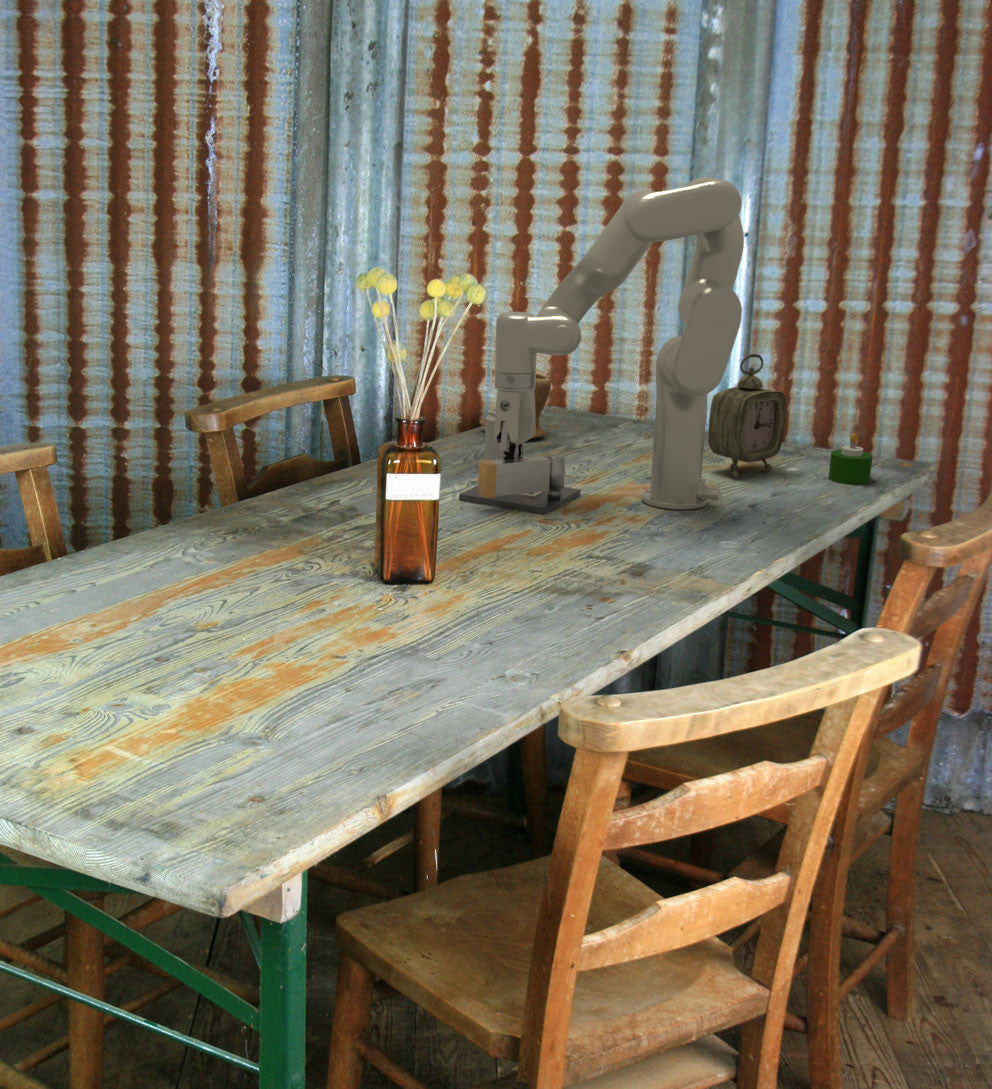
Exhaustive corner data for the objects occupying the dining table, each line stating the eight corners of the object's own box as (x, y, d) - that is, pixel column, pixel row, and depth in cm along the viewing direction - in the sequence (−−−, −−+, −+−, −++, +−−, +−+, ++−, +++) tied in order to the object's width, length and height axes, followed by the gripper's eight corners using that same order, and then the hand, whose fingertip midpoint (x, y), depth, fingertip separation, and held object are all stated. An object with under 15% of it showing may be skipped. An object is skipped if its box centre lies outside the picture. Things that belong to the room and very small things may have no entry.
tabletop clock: (734, 481, 271) (745, 359, 264) (701, 472, 278) (710, 353, 270) (780, 472, 280) (791, 354, 273) (746, 463, 287) (757, 347, 279)
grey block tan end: (558, 485, 252) (559, 453, 251) (567, 489, 249) (569, 457, 248) (477, 493, 245) (478, 460, 243) (486, 498, 242) (487, 465, 240)
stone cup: (558, 439, 304) (561, 374, 299) (516, 444, 297) (518, 377, 293) (520, 426, 316) (523, 363, 311) (478, 431, 309) (480, 367, 305)
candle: (835, 473, 281) (840, 426, 278) (874, 479, 277) (879, 432, 274) (823, 480, 274) (828, 433, 272) (862, 487, 270) (868, 439, 268)
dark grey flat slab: (580, 495, 257) (581, 481, 256) (545, 514, 243) (546, 500, 243) (497, 482, 265) (497, 468, 264) (459, 500, 251) (459, 485, 250)
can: (520, 471, 273) (522, 414, 270) (483, 470, 274) (485, 413, 270) (520, 463, 281) (522, 407, 277) (484, 461, 281) (486, 405, 277)
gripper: (519, 389, 236) (516, 488, 242) (547, 375, 250) (544, 470, 255) (480, 385, 239) (478, 484, 245) (510, 372, 252) (508, 466, 258)
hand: (512, 476), depth 250 cm, fingers closed
